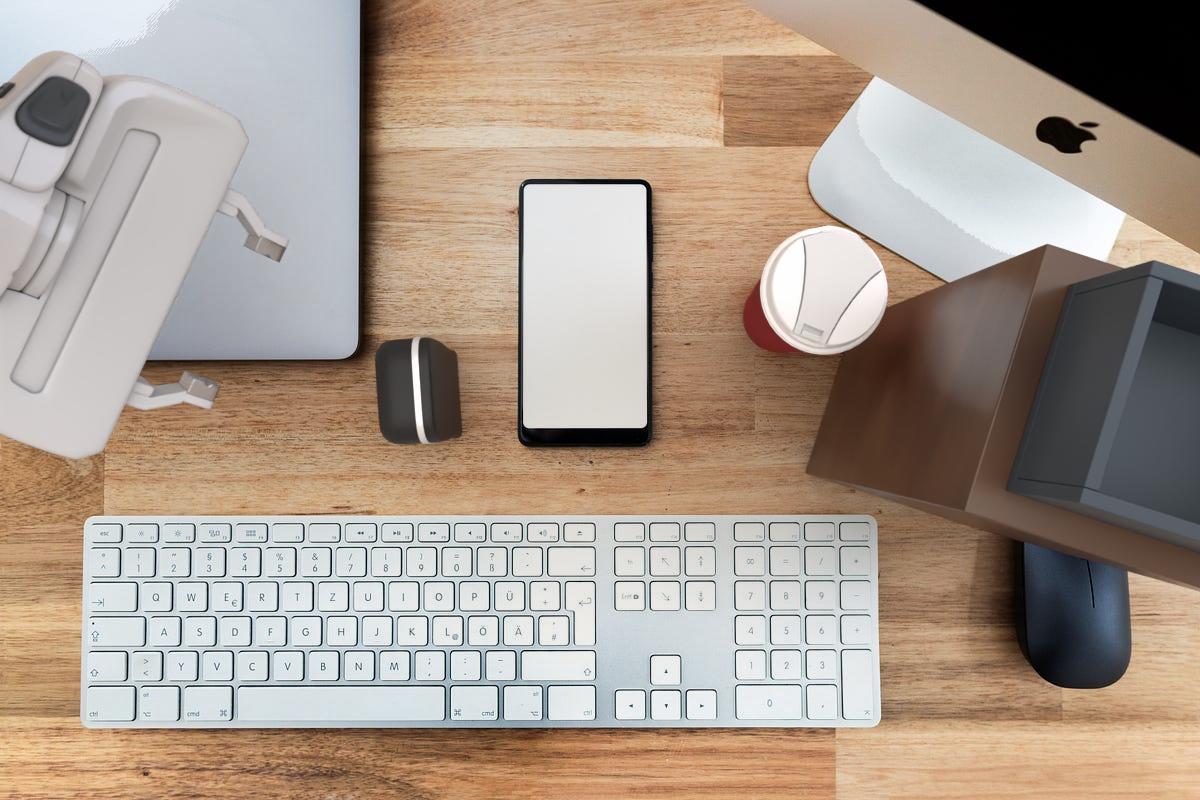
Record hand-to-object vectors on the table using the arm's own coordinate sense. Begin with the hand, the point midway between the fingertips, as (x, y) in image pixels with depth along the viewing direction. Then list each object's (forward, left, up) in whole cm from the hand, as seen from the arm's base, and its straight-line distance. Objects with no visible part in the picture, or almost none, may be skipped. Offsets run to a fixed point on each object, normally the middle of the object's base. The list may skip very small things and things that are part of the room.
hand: (247, 322), depth 51 cm
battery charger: (+1, +9, -14) cm, 17 cm away
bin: (-8, +44, +14) cm, 47 cm away
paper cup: (-13, +32, -14) cm, 37 cm away
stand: (-8, +44, -14) cm, 47 cm away
